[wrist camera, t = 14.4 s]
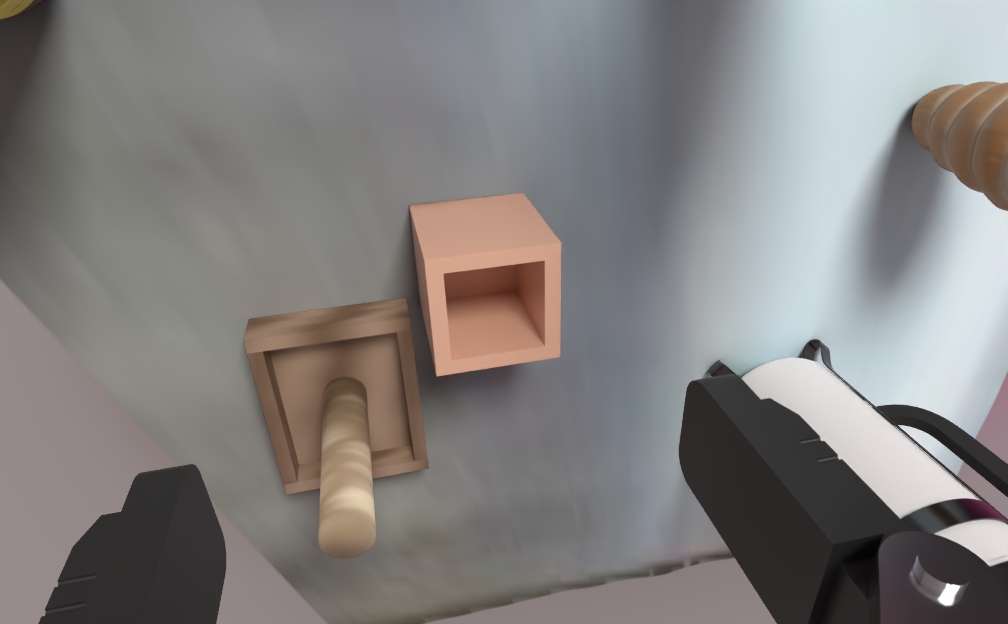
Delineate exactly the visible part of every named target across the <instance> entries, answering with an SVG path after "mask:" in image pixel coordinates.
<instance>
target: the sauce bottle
mask: <svg viewBox="0 0 1008 624" xmlns="http://www.w3.org/2000/svg"><path fill="white" fill-rule="evenodd" d="M41 1H42V0H0V19H4V18H8V17H11V16H14V15H16V14H18V13H23V12H26V11H28V10H30V9H32V8H33V7H34V6H35V5H37V4H38V3H40V2H41Z"/></svg>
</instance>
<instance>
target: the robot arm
mask: <svg viewBox="0 0 1008 624" xmlns="http://www.w3.org/2000/svg"><path fill="white" fill-rule="evenodd" d="M679 459H680V465H681V469H682V472H683V475H684V478H685V480H686V482H687V484H688V485H689V487H690V489H691V490H692V492H693V493H694V495H695V496H696V498H697V500H698V501H699V503H700V504H701V506H702V507H703V509H704V511H705V512H706V514H707V515H708V517H709V518H710V520H711V521H712V523H713V525H714V526H715V528H716V529H717V531H718V532H719V534H720V535H721V537H722V539H723V540H724V542H725V543H726V545H727V546H728V548H729V550H730V551H731V553H732V554H733V556H734V557H735V559H736V560H737V562H738V564H739V565H740V566H741V568H742V570H743V571H744V573H745V574H746V576H747V578H748V579H749V581H750V582H751V584H752V585H753V587H754V588H755V590H756V592H757V593H758V595H759V596H760V598H761V599H762V601H763V603H764V604H765V606H766V607H767V609H768V610H769V612H770V613H771V615H772V617H773V618H774V620H775V621H776V623H777V624H1008V568H1004V567H993V566H989V565H988V564H987V563H986V562H985V561H984V560H982V559H981V558H980V557H979V556H977V555H976V554H975V553H973V552H972V551H970V550H969V549H967V548H966V547H964V546H962V545H960V544H958V543H956V542H954V541H952V540H950V539H947V538H945V537H942V536H939V535H936V534H932V533H927V532H920V531H912V530H911V529H910V528H909V527H908V526H907V525H906V524H905V523H904V522H903V521H902V520H901V519H900V518H899V517H898V516H897V515H896V514H895V513H894V512H893V511H892V510H891V509H890V508H889V507H888V506H887V505H886V504H885V502H884V501H883V500H882V499H881V498H880V497H879V496H878V495H877V494H876V493H875V492H874V491H873V490H872V489H871V488H870V487H869V486H868V485H867V484H866V483H865V482H864V481H863V480H862V479H861V478H860V477H859V476H858V475H857V474H856V473H855V472H854V471H853V470H852V469H851V468H850V467H849V465H848V464H847V463H846V462H845V461H844V460H843V459H840V460H839V458H838V454H837V453H836V452H835V451H834V450H833V449H832V448H831V447H830V446H829V445H828V444H827V443H826V442H825V441H821V439H820V436H819V435H818V434H817V433H816V432H815V431H814V430H813V429H812V427H811V426H810V425H809V424H808V423H807V422H806V421H805V420H804V419H803V418H802V417H801V416H800V415H799V414H797V413H795V412H793V411H792V410H790V409H788V408H787V407H785V406H783V405H781V404H780V403H778V402H776V401H774V400H773V399H771V398H766V399H760V398H759V397H758V396H757V395H756V394H755V393H754V391H753V390H752V389H751V388H750V387H749V386H748V385H747V384H746V383H745V382H744V381H743V380H742V379H741V378H740V377H739V376H737V375H735V374H729V375H723V376H717V377H712V378H706V379H700V380H694V381H691V382H690V383H689V385H688V387H687V391H686V398H685V405H684V413H683V421H682V428H681V436H680V444H679ZM225 572H226V548H225V541H224V536H223V533H222V530H221V527H220V525H219V522H218V519H217V516H216V514H215V511H214V508H213V506H212V503H211V500H210V498H209V495H208V492H207V490H206V487H205V484H204V482H203V479H202V476H201V474H200V471H199V470H198V468H197V467H196V466H195V465H194V464H189V465H184V466H178V467H172V468H166V469H160V470H154V471H149V472H142V473H139V474H138V475H137V476H136V477H135V479H134V481H133V483H132V485H131V488H130V490H129V493H128V495H127V498H126V501H125V503H124V506H123V508H122V511H121V512H117V513H112V514H106V515H102V516H100V517H99V519H98V520H97V521H96V522H95V523H94V524H93V525H92V526H91V527H90V528H89V530H88V531H87V532H86V533H85V534H84V535H83V536H82V537H81V538H80V540H79V541H78V542H77V543H76V544H75V545H74V546H73V548H72V550H71V553H70V554H69V557H68V559H67V561H66V564H65V566H64V568H63V570H62V572H61V575H60V577H59V579H58V587H55V588H54V590H53V592H52V595H51V597H50V599H49V601H48V604H47V606H46V608H45V611H46V614H45V616H43V617H41V619H40V622H39V624H216V621H217V615H218V611H219V605H220V600H221V595H222V589H223V584H224V578H225Z"/></svg>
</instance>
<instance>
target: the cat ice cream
mask: <svg viewBox="0 0 1008 624" xmlns="http://www.w3.org/2000/svg"><path fill="white" fill-rule="evenodd" d="M911 126H912V130H913V133H914V135H915V137H916V139H917V141H918V143H919V144H920V145H921V146H922V147H923V148H925V149H927V150H929V151H932V154H933V157H934V159H935V161H936V162H937V164H938V165H939V166H941V167H942V168H944V169H946V170H948V171H950V172H953V173H954V174H955V175H956V177H957V178H958V179H959V180H960V181H961V182H962V183H963V184H964V185H966V186H967V187H969V188H970V189H972V190H975V191H978V192H982V193H984V194H985V196H986V197H987V198H988V199H989V200H990V201H991V202H992V203H993V204H994V205H995V206H996V207H998V208H1000V209H1002V210H1006V211H1008V83H1003V84H1001V83H996V82H977V83H973V84H970V85H967V86H965V85H948V86H944V87H940V88H938V89H935V90H933V91H931V92H930V93H928V94H926V95H925V96H923V97H922V98H921V100H920V101H919V102H918V103H917V105H916V107H915V109H914V112H913V116H912V121H911Z"/></svg>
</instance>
